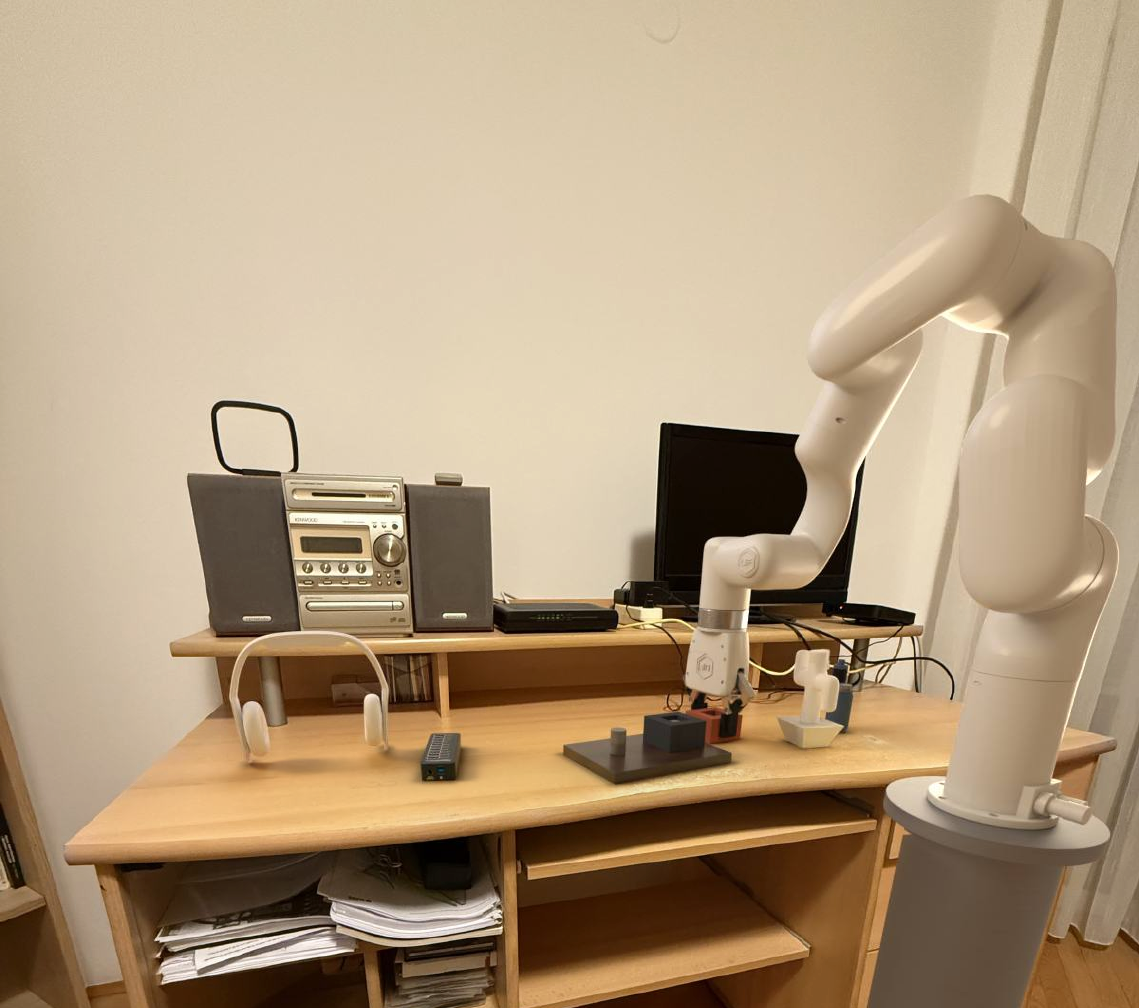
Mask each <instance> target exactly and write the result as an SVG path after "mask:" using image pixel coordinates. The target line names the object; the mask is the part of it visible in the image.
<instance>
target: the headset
mask: <svg viewBox="0 0 1139 1008" xmlns="http://www.w3.org/2000/svg"><path fill="white" fill-rule="evenodd" d="M347 643H350V644H351V645H354V646H356V647H357V648H358V649H360V650H361V651H362V652H363V653H364V654H365V656H366V657H367V658H368V660H369V661H370V663H371V665H372V667H373V669H374V671H375V673H376V676H377V678H378V681H379V683H380V686H381V699H380V697H379V696H378V695H377V694H375V693H369V694H367V695H366V696H365V697H364V698H363V699H364V700H363V723H364V726H363V727H364V739H365V743H366V744H367V745H368V746H370V747H377V746H379V745H380V744H381V741H382V742H383V746H384V750H385V751H389V707H388V706H389V691H390V689H389V684H388V682H387V680H386V677H385V674H384V672H383V669H382V667H381V664H380V663H379V661H378V659H377V657H376V655H375V654H374V652H373V651H372V650H371V649H370V647H369V646H368V645H367V644H366V643H365V642H364V641H362V640H361V639H359V638H357V637H355V636H353V635H351V634H348V633H344V632H339V631H338V632H337V631H328V630H299V631H284V632H275V633H270V634H266V635H262V636H259V637H257V638H255V639H253V640H251V641H249V643H247V644H246V645H245V646H244V647H243V649H242V650H241V651H240V653H239V654H238V656H237V659H236V661H235V664H234V666H233V670H232V674H231V679H230V687H229V694H228V695H229V696H228V699H229V702H230V706H231V711H232V716H233V718H234V722H235V727H236V731H237V734H238V738H239V743H240V747H241V750H242V753H243V758H244V761H245V763H246V764H252V755H251V753H252V754H253V756H256V757H264V756H267V754H269V752H270V749H271V741H270V732H269V727H268V724H267V719H266V715H265V712H264V709H263V708H262V706H261V704H259V703H258V702H257V701H253V700H252V701H247V702H245V703H243V704H244V705H243V706H242V707H241V703H240V699H239V697H238V691H239V684H240V679H241V673H242V670H243V666H244V664H245V661H246V659H247V658H248V656H249V655H250V654H251V652H253V651H254V650H255V649H256V648H258V647H260V646H262V645H263V646H264V648H266V649H267V650H269V651H289V650H297V649H313V648H314V649H315V648H330V649H331V648H332V649H334V648H335V649H337V648H341V647H343V646H345V644H347ZM380 700H381V701H380Z"/></svg>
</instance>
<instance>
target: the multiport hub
mask: <svg viewBox="0 0 1139 1008" xmlns="http://www.w3.org/2000/svg"><path fill="white" fill-rule="evenodd" d="M461 751H462V734H461V733H459V732H439V733H438V732H434V733H433V732H432V733H430V736H429V738H428V741H427V744H426V747H425V750H424V753H423V756H422V758H421V761H420V777H421V781H425V782H427V781H428V782H429V781H456V780H457V776H458V771H459V763H460V757H461Z"/></svg>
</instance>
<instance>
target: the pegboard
mask: <svg viewBox="0 0 1139 1008" xmlns="http://www.w3.org/2000/svg"><path fill="white" fill-rule="evenodd" d="M670 721H672V722H678V721H679V720H670ZM627 732H628V731H627V728H625V727H619V726H617V727H612V728H610V738H603V739H596V740H588V741H582V742H581V741H580V742H574V743H568V744H563V745H562V755H564V756H565V757H567V758H569V759H571V760H572V761H574V762H576V763H577V764H579V765H580V766H582V767H584V768H586V769H588V770H590V771H591V772H592V773H595V774H596V775H598V776H600V777H601V778H603V779H605V780H607V781H609V782H610V783H612V784H613V785H616V784H617V785H618V784H622V783H628V782H632V781H638V780H644V779H649V778H650V779H651V778H655V777H659V776H666V775H669V774H670V775H671V774H676V773H681V772H686V771H687V772H688V771H692V770H693V771H694V770H698V769H704V768H709V767H714V766H719V765H720V766H721V765H725V764H731V763H732V755H733V753H732V752H731V751H728V750H726V749H723V748H720V747H718V746H715V745H712V744H710V743H707V742H705V745H704V747H702V748H695V749H690V750H684V751H678V752H672V753H668V752H666V751H664V750H661V749H659V748H657V747H655V746H652V745H650V744H648V743H646V742H643V733H637V734H631V735H627Z"/></svg>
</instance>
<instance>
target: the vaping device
mask: <svg viewBox="0 0 1139 1008" xmlns="http://www.w3.org/2000/svg"><path fill="white" fill-rule="evenodd" d="M848 671H849V665H848V664H846V659H844V658H839V659H838V661H837V663H834V664H833V666H832V675H831V676H834V677H836V678H837V679H838V680H839V694H838V700H837V706H836V709H835V711H833V712H825V717H824V719H826V720H829V721H832V722H834V723H837V724H840V725H842V726H844V727H843V728H842V729H841V731H840V732H839V733H838V734H844V733H846V732H847V730H848V729H849V725H850V718H851V713H852V706H853V702H854V701H853V700H854V694H853V693H854V690H853V684H850V683H847V677H848Z"/></svg>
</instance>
